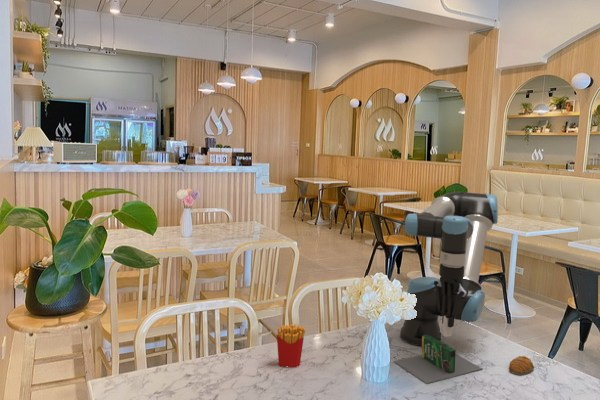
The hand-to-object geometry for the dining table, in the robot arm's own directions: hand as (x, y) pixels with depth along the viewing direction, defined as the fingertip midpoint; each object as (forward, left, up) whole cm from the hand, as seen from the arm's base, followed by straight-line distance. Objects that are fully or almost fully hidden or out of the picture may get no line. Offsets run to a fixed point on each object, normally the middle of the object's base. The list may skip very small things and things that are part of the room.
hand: (447, 335), depth 153 cm
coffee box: (+4, 0, -8) cm, 9 cm away
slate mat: (-3, 0, -12) cm, 12 cm away
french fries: (-23, -45, -12) cm, 52 cm away
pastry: (+10, +24, -12) cm, 29 cm away
